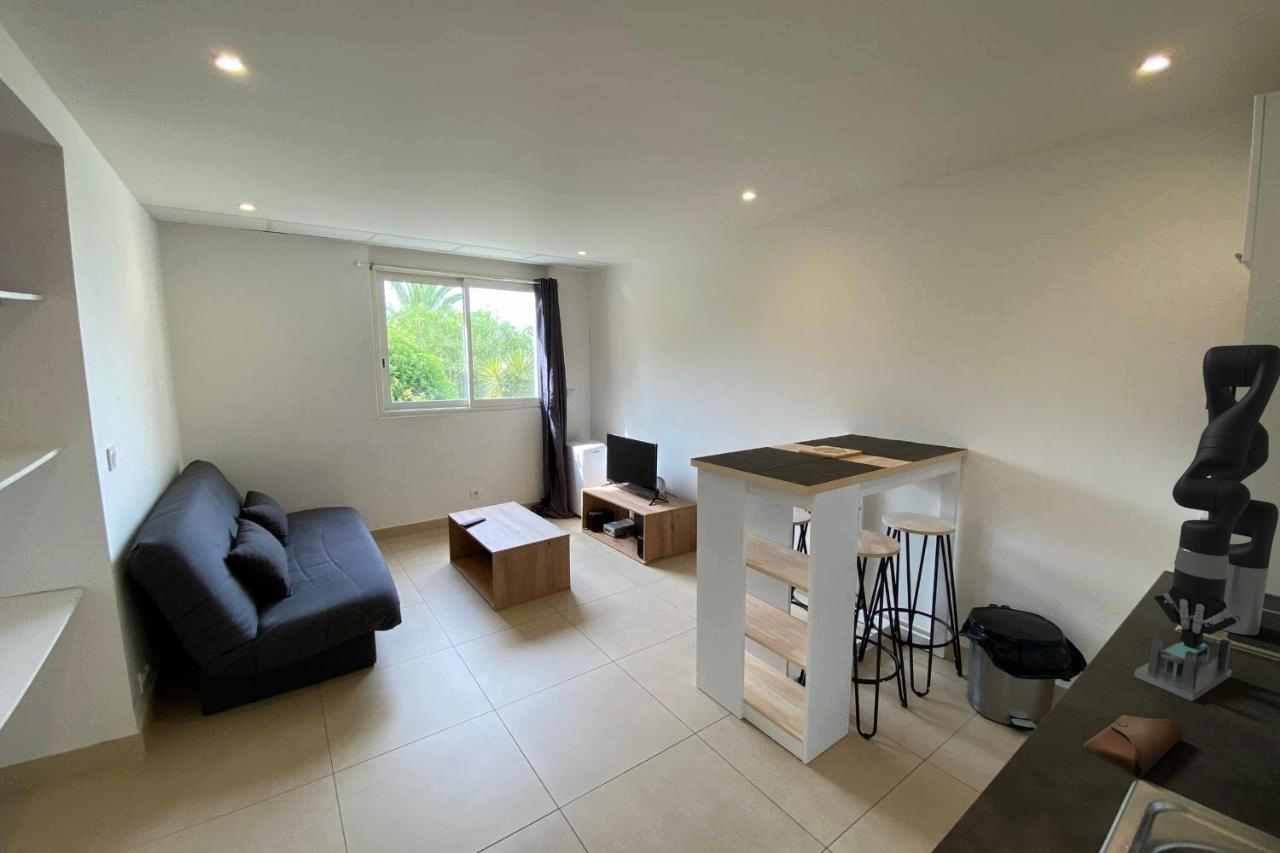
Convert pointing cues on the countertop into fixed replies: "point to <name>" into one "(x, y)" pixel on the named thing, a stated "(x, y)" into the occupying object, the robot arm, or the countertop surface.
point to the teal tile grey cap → (1185, 650)
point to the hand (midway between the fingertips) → (1190, 646)
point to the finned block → (1186, 670)
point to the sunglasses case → (1136, 742)
